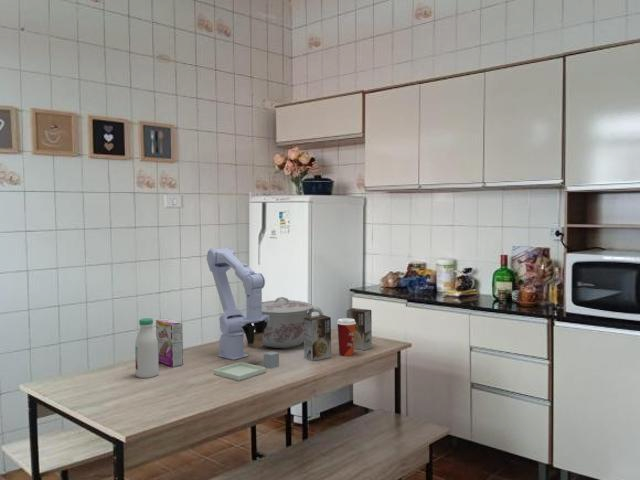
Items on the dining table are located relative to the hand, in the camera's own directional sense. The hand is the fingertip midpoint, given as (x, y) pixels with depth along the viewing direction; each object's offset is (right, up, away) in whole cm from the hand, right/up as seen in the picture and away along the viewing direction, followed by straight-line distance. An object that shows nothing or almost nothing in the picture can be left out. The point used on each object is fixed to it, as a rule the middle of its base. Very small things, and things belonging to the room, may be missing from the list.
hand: (254, 342), depth 213 cm
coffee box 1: (+24, -8, +10) cm, 27 cm away
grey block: (+6, -9, -2) cm, 11 cm away
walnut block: (0, -2, 0) cm, 2 cm away
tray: (-4, -9, -11) cm, 15 cm away
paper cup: (+35, -8, +14) cm, 39 cm away
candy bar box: (-32, -9, +2) cm, 34 cm away
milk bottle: (-37, -10, -13) cm, 40 cm away
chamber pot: (+8, -7, +31) cm, 32 cm away
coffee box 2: (+41, -7, +25) cm, 49 cm away
